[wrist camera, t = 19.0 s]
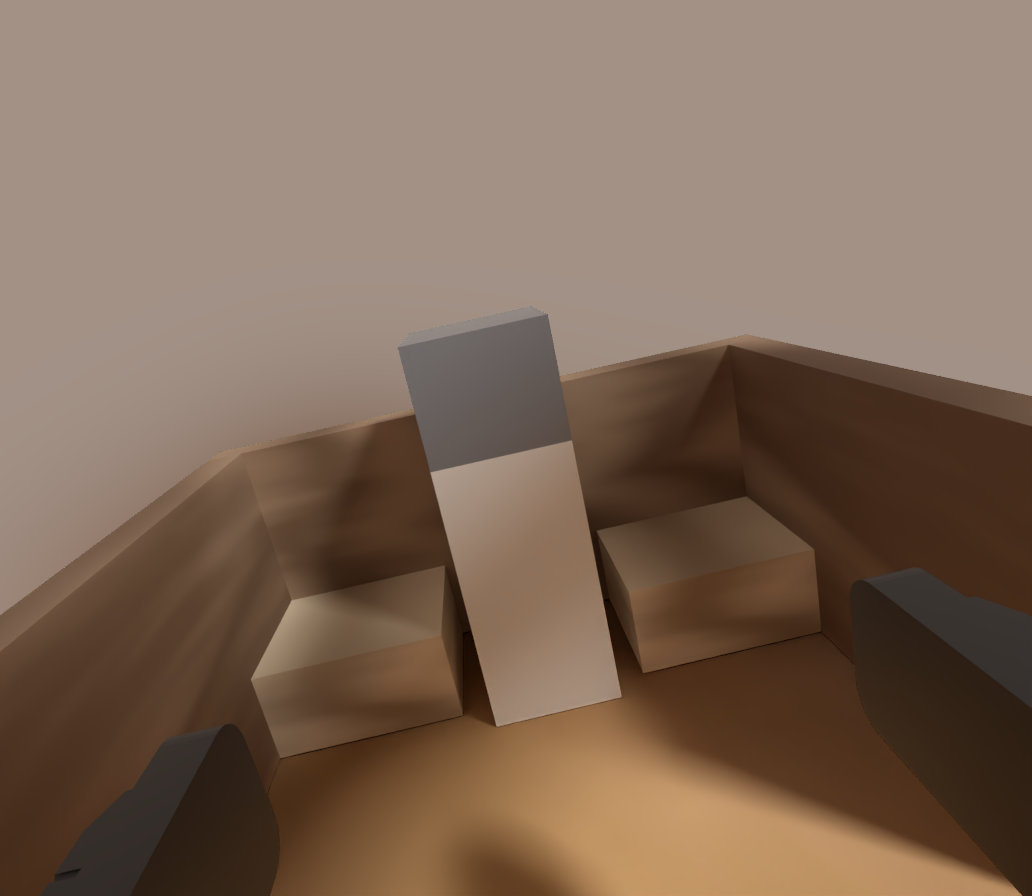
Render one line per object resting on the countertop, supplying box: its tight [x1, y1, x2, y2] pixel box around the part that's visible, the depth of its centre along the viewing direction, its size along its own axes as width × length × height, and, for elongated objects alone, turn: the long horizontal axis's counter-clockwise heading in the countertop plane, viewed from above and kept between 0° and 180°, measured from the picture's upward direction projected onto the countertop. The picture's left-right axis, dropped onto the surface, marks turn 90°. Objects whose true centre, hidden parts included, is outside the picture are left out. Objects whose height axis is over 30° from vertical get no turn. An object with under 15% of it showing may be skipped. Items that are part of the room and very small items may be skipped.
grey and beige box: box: [398, 307, 622, 727], centre depth 21 cm, size 4×5×12 cm
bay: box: [0, 335, 1032, 896], centre depth 18 cm, size 20×16×9 cm
